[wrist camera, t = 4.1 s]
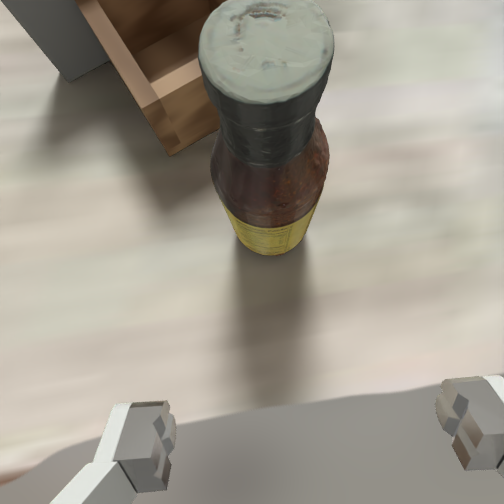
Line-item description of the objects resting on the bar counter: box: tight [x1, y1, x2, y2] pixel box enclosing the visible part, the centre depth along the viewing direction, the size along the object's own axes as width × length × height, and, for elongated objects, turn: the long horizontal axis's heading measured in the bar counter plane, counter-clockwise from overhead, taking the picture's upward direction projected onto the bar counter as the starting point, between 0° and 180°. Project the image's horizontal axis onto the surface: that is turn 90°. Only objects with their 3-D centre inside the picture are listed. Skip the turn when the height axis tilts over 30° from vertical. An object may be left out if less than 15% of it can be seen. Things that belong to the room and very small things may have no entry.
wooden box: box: [75, 0, 228, 157], centre depth 29 cm, size 12×12×7 cm
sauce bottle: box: [198, 0, 334, 256], centre depth 19 cm, size 7×6×20 cm
